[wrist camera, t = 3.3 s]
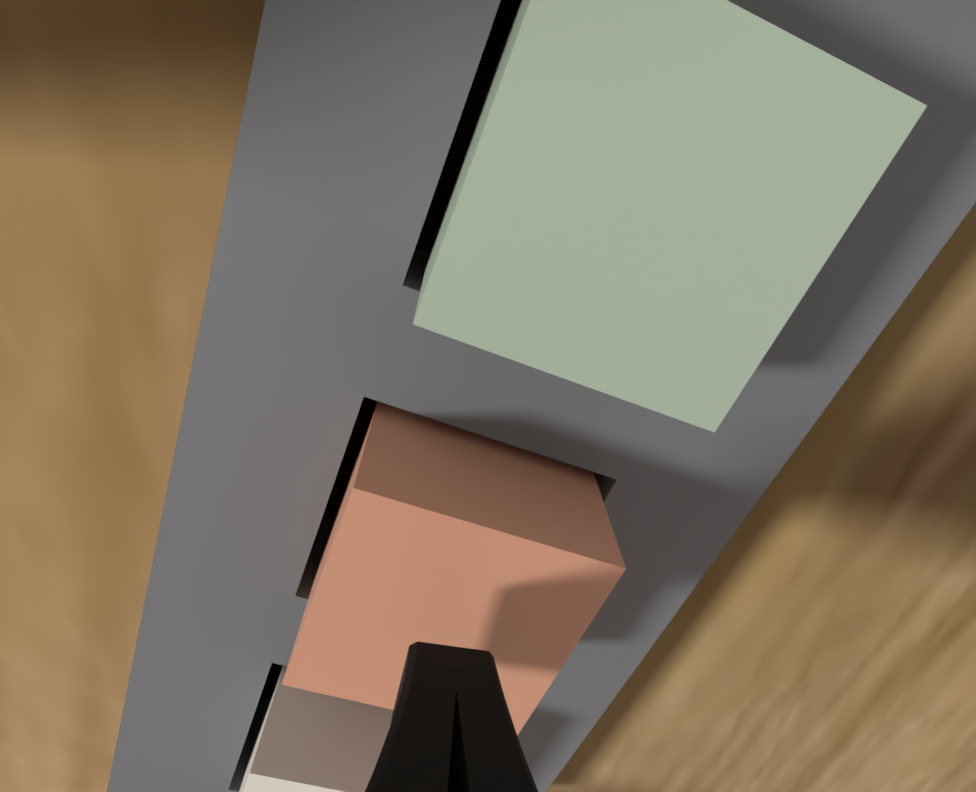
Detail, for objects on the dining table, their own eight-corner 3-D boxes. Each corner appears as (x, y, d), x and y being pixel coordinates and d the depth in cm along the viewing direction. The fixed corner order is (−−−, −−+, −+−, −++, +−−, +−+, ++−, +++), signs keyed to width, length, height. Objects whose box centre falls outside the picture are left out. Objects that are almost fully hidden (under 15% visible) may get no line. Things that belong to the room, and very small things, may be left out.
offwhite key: (465, 667, 18) (465, 814, 14) (410, 767, 20) (399, 918, 16) (296, 626, 17) (249, 773, 13) (257, 735, 19) (207, 888, 15)
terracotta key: (586, 449, 14) (626, 568, 11) (505, 596, 16) (516, 737, 13) (383, 381, 13) (353, 488, 10) (324, 546, 15) (281, 684, 12)
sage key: (777, 100, 11) (927, 105, 7) (646, 339, 13) (715, 432, 9) (527, -23, 10) (562, -87, 6) (428, 255, 12) (412, 323, 8)
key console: (959, 43, 12) (1101, 29, 9) (481, 784, 23) (483, 877, 20) (381, -280, 10) (349, -424, 7) (150, 716, 20) (103, 811, 18)
